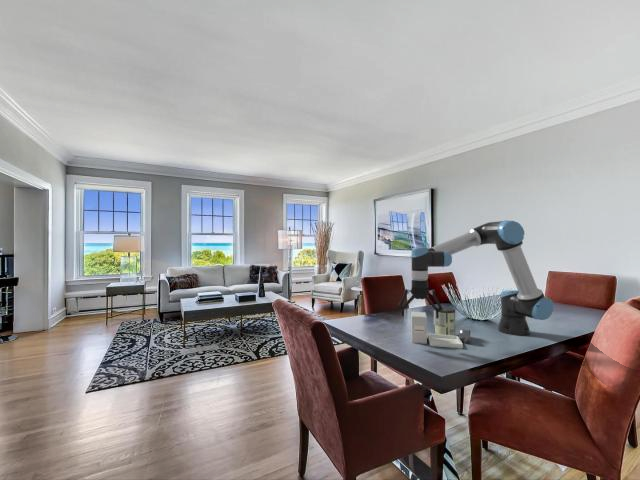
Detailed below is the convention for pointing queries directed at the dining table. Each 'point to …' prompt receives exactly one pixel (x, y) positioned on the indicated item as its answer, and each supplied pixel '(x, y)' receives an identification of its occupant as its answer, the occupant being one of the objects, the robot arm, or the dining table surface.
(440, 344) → the tray
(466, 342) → the cartridge
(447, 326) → the coffee can
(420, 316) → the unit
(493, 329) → the dining table surface
